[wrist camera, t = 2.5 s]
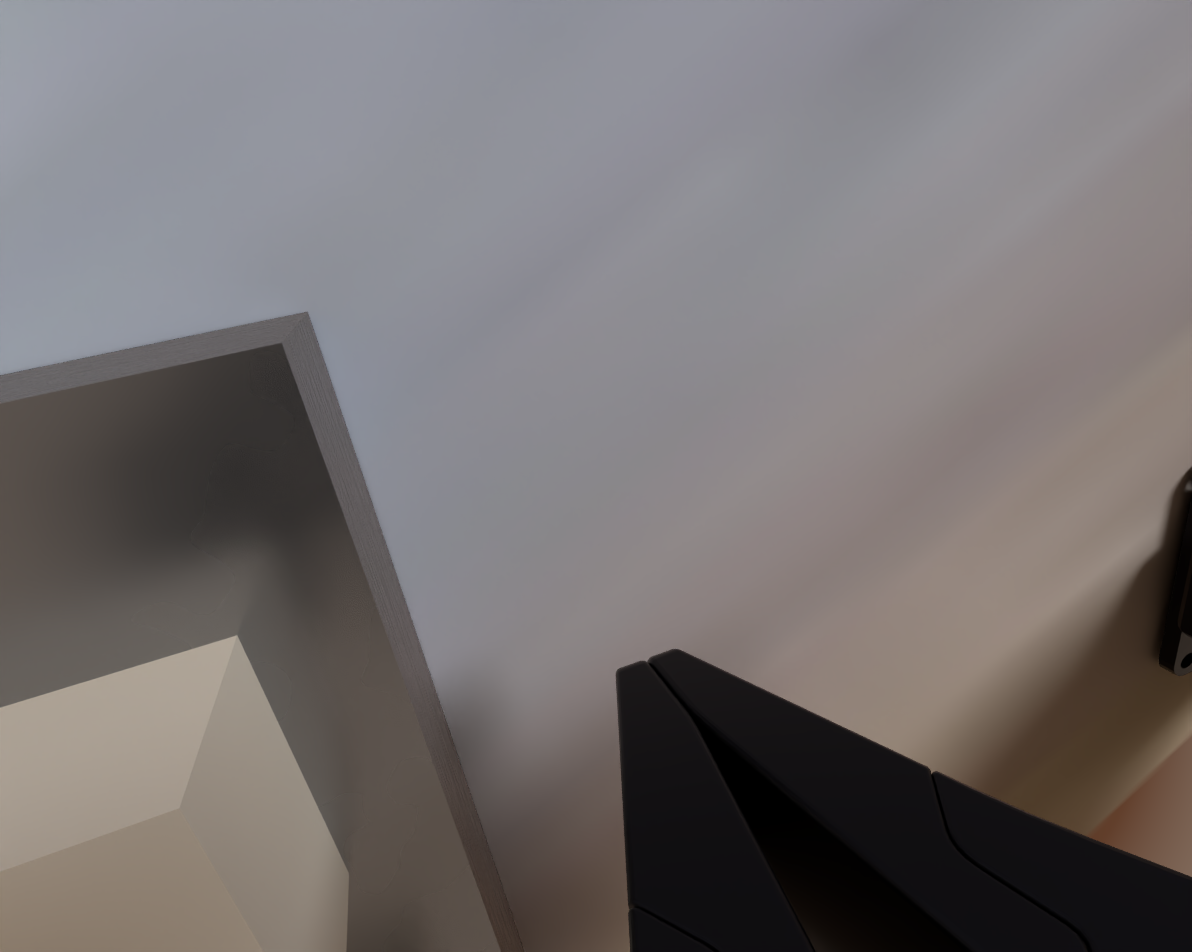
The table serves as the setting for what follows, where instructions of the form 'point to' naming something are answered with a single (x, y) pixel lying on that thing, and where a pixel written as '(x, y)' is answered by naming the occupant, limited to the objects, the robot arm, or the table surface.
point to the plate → (245, 595)
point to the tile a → (162, 818)
